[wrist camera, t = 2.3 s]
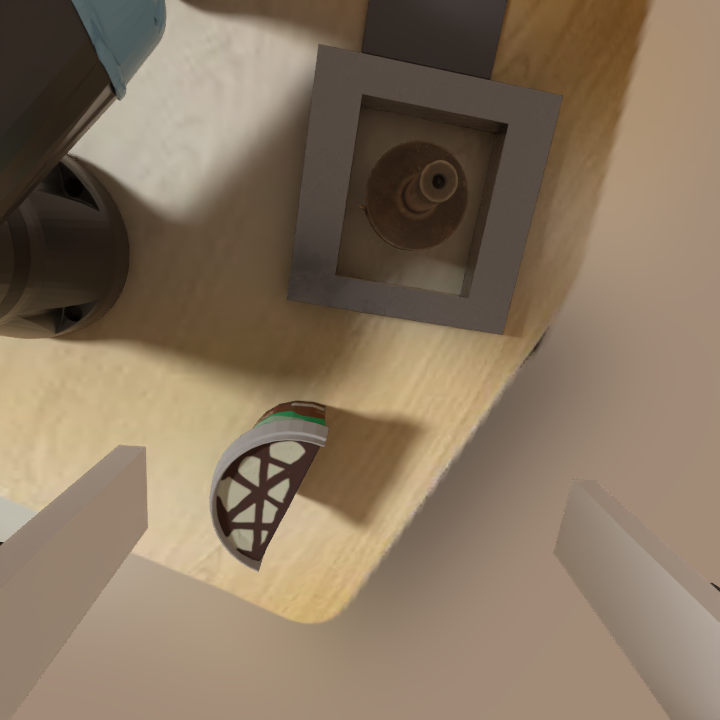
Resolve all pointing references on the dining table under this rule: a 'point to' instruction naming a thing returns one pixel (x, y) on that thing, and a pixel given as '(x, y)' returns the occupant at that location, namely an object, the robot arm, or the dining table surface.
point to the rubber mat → (436, 33)
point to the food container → (264, 477)
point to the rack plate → (499, 201)
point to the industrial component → (416, 195)
